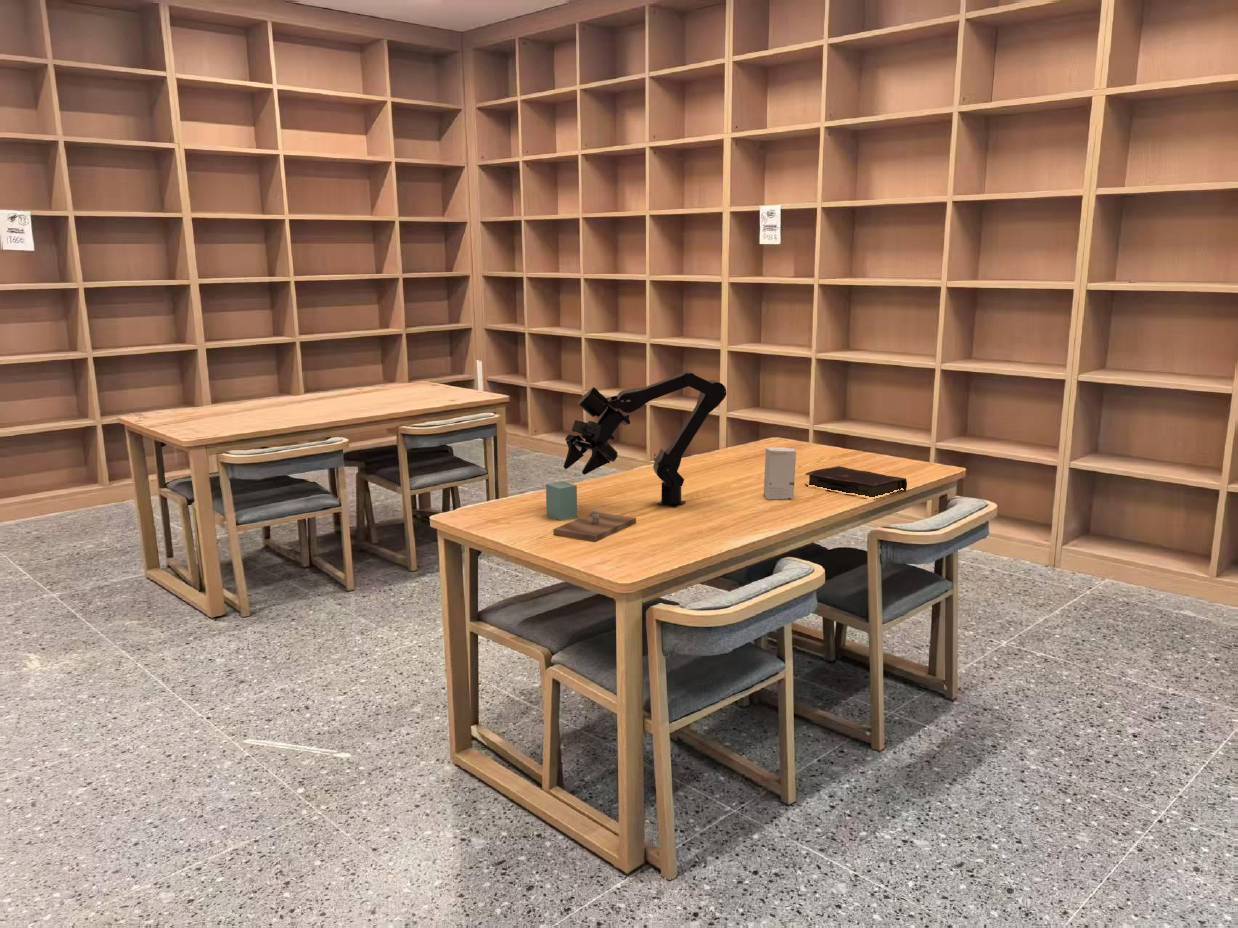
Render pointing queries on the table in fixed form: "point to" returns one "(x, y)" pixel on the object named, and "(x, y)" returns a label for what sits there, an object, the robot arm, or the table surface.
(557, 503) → the seafoam square prism
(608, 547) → the table surface
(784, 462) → the skincare box
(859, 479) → the diary
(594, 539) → the stud board
